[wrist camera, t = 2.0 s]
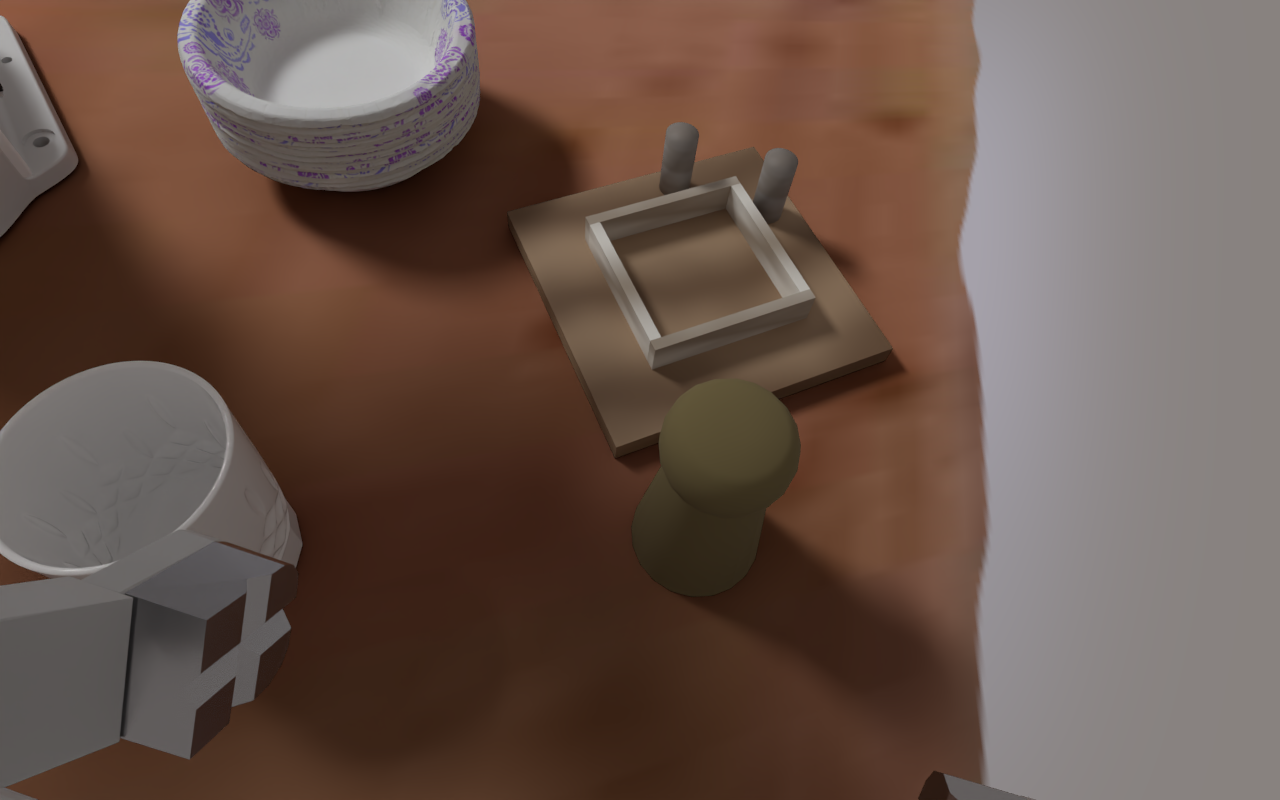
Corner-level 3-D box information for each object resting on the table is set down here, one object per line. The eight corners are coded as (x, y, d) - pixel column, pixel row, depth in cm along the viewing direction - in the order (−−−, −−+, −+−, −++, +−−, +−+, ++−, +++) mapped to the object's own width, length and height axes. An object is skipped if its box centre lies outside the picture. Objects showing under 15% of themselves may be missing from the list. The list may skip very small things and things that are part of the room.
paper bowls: (512, 203, 46) (501, 91, 39) (240, 252, 43) (177, 139, 36) (460, 42, 53) (444, -77, 46) (223, 73, 50) (167, -51, 43)
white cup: (220, 446, 37) (113, 325, 29) (353, 526, 36) (282, 423, 27) (86, 587, 34) (-84, 497, 25) (228, 682, 32) (100, 622, 23)
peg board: (508, 226, 45) (501, 157, 41) (750, 161, 49) (767, 92, 45) (615, 458, 38) (620, 406, 34) (885, 360, 43) (922, 303, 38)
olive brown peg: (625, 589, 35) (644, 494, 26) (637, 468, 38) (658, 343, 29) (757, 603, 35) (825, 514, 26) (758, 482, 38) (820, 362, 29)
